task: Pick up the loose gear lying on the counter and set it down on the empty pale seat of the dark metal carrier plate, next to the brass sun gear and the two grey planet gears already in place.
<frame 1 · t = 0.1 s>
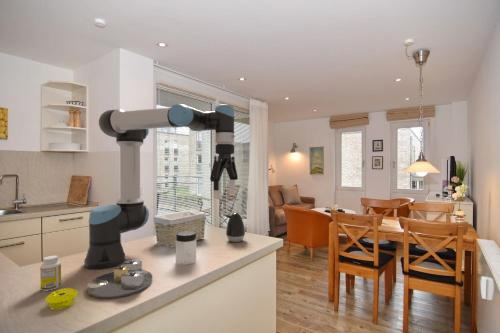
hand: (225, 197, 109), 28 cm above the counter, tool pointing down, fingers open, 13 cm apart
storage basket: (180, 241, 147), on the counter
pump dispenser: (235, 241, 146), on the counter
supplement bottle: (51, 288, 90), on the counter
jar: (186, 261, 115), on the counter
gear: (62, 305, 80), on the counter
carrier: (121, 284, 93), on the counter
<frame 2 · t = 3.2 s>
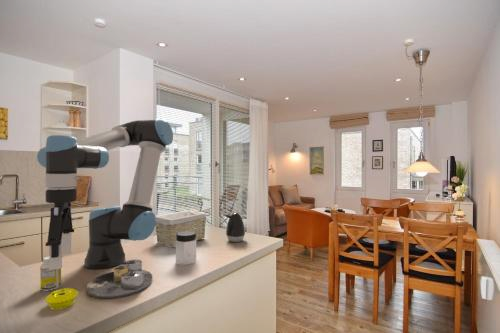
hand: (61, 261, 79), 13 cm above the counter, tool pointing down, fingers open, 13 cm apart
nothing on the counter moved.
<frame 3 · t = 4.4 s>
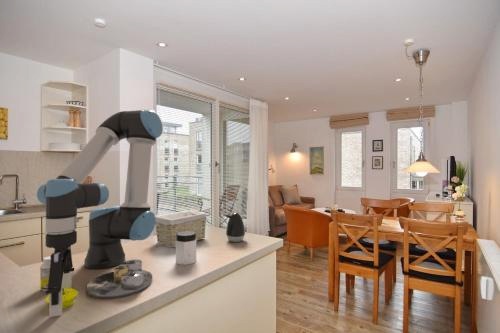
hand: (61, 304, 79), 0 cm above the counter, tool pointing down, fingers open, 13 cm apart
nothing on the counter moved.
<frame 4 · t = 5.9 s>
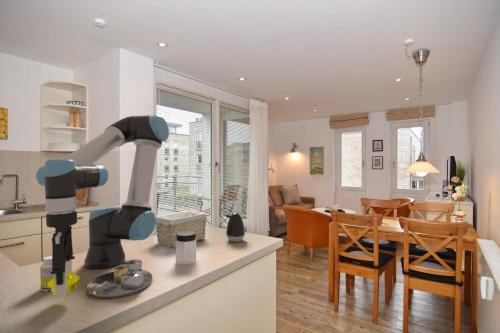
hand: (64, 287, 80), 4 cm above the counter, tool pointing down, fingers closed on gear, 8 cm apart
gear: (64, 289, 80), point 4 cm above the counter, touching gripper
everything else where it was.
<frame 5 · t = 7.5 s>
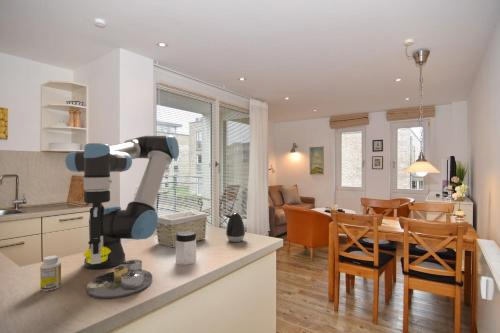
hand: (97, 259, 90), 10 cm above the counter, tool pointing down, fingers closed on gear, 8 cm apart
gear: (97, 260, 90), point 9 cm above the counter, touching gripper
everything else where it was.
when the fingers open (2 cm above the counter, at t = 9.2 s): gear stays where it is, resting on carrier.
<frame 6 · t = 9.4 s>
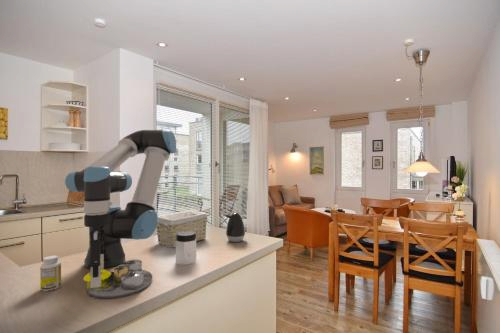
hand: (97, 279, 90), 3 cm above the counter, tool pointing down, fingers open, 11 cm apart
gear: (97, 284, 90), point 1 cm above the counter, touching carrier
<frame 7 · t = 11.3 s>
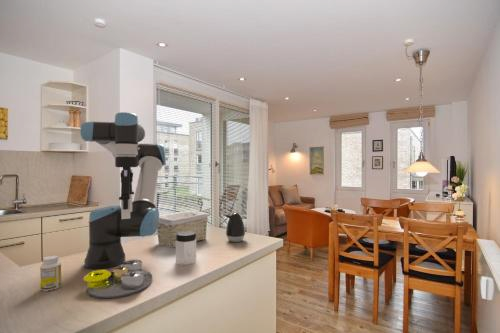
hand: (127, 215, 98), 23 cm above the counter, tool pointing down, fingers open, 13 cm apart
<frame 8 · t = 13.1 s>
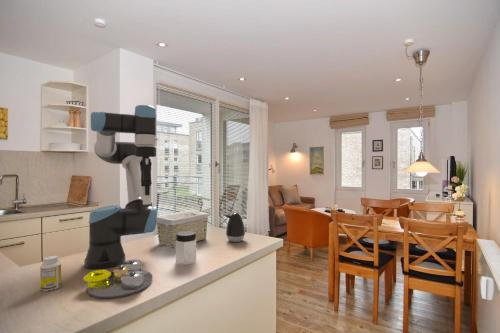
hand: (145, 202, 104), 27 cm above the counter, tool pointing down, fingers open, 13 cm apart
at the end: gear 0.1 cm from the target spot on the carrier, point 1.4 cm above the carrier's base; gear tilted 0°; the gripper is holding nothing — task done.
